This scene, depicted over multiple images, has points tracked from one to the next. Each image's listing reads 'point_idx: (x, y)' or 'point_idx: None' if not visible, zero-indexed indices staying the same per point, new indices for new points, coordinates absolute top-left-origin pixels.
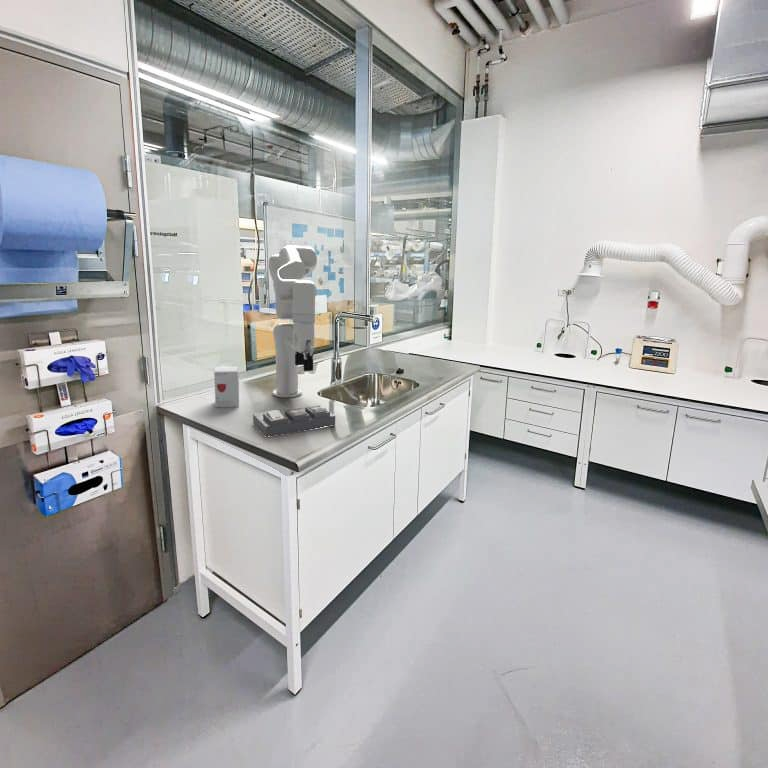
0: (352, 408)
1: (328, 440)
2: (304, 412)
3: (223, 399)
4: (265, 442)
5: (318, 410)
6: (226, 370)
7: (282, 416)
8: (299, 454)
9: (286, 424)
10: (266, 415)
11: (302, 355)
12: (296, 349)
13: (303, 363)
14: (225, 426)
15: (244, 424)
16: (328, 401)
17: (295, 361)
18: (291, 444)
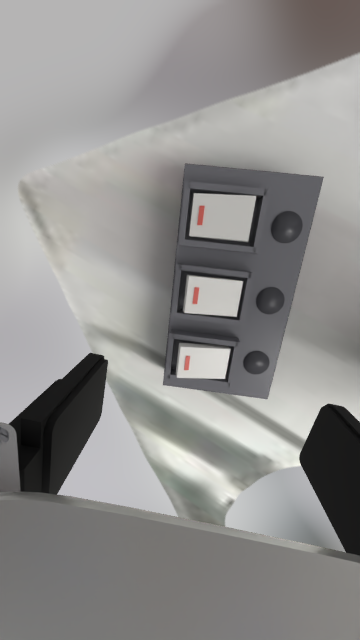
0: (246, 465)
1: (94, 308)
2: (184, 308)
3: None
4: (157, 159)
5: (178, 353)
6: None
7: (200, 234)
8: (48, 205)
9: (178, 238)
10: (245, 191)
11: (356, 544)
12: (246, 590)
13: (303, 463)
14: (350, 93)
15: (324, 163)
16: None
17: (349, 424)
18: (112, 218)
